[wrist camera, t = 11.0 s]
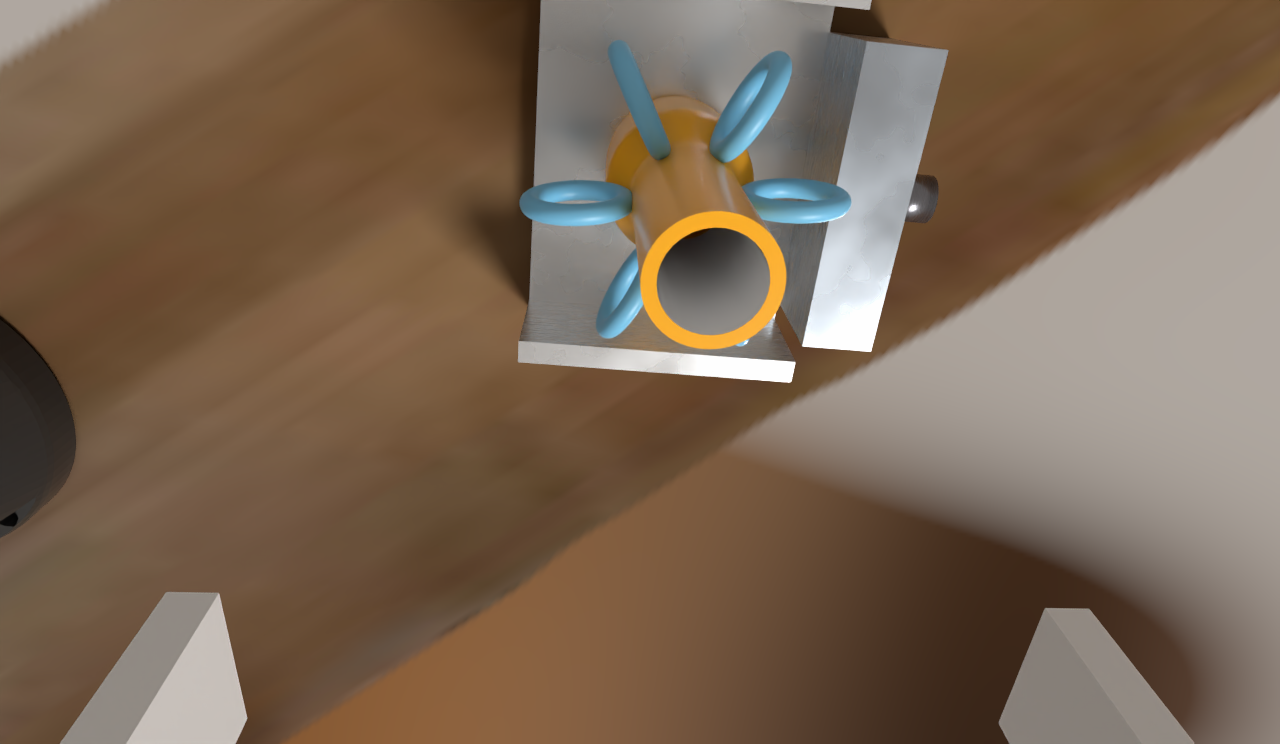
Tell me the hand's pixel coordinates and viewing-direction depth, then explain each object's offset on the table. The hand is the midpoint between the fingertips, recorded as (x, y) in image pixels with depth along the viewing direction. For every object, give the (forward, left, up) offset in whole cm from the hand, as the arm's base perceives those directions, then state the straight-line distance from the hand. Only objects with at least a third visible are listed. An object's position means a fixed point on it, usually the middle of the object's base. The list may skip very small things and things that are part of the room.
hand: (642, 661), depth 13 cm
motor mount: (+4, +3, -27) cm, 27 cm away
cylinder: (+2, +3, -26) cm, 26 cm away
